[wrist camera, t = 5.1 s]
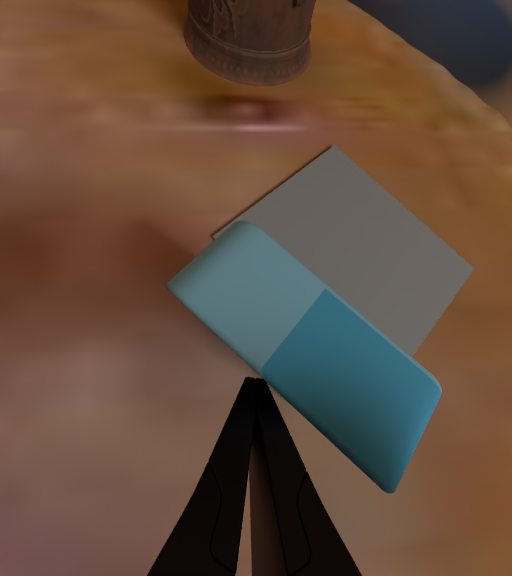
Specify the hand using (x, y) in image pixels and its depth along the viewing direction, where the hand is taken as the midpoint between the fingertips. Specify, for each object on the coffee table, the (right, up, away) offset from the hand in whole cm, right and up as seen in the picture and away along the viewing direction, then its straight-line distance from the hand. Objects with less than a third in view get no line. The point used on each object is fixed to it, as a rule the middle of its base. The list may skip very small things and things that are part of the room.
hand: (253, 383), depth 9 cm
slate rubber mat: (+10, +8, +14) cm, 19 cm away
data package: (+1, -1, +11) cm, 11 cm away
